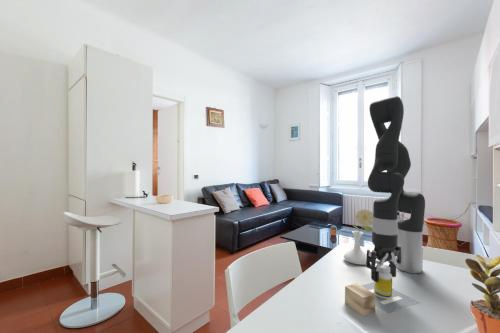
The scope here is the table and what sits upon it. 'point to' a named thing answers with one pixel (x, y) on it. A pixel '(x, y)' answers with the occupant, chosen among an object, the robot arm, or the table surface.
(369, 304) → the oak block
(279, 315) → the table surface
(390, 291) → the supplement bottle
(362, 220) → the flower in vase
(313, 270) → the table surface
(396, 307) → the letter board
